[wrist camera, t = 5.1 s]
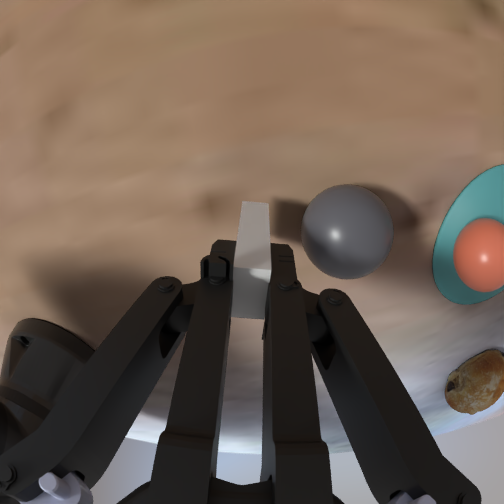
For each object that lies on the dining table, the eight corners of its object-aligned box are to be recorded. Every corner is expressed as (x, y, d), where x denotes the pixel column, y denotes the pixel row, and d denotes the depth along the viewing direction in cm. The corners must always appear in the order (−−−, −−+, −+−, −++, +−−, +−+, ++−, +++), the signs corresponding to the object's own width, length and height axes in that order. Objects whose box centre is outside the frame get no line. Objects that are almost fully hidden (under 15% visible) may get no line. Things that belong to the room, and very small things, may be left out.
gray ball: (320, 309, 17) (327, 262, 22) (412, 279, 14) (399, 235, 19) (274, 227, 15) (292, 195, 20) (376, 183, 13) (368, 161, 18)
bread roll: (458, 332, 32) (457, 383, 26) (520, 339, 27) (526, 388, 21) (438, 376, 37) (432, 421, 31) (494, 381, 32) (493, 426, 26)
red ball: (447, 303, 19) (464, 277, 22) (514, 304, 14) (519, 275, 17) (440, 230, 18) (457, 215, 21) (511, 223, 14) (514, 209, 17)
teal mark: (468, 322, 25) (469, 323, 25) (402, 253, 21) (402, 254, 21) (553, 231, 19) (554, 232, 19) (512, 128, 15) (514, 129, 15)
